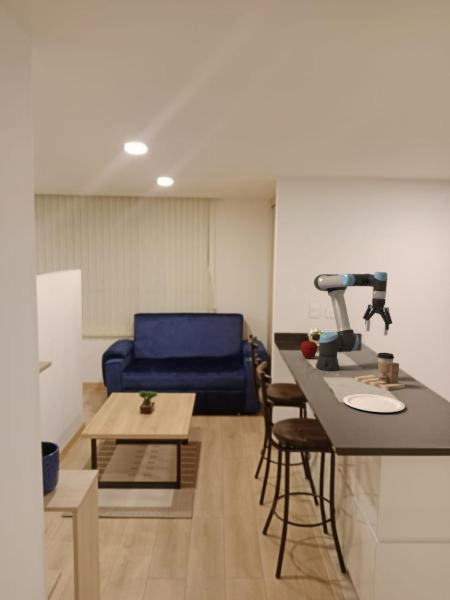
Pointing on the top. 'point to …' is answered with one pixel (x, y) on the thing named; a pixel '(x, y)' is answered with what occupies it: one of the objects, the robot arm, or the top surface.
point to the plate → (374, 403)
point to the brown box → (390, 372)
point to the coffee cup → (383, 358)
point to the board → (377, 382)
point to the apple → (308, 349)
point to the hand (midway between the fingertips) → (376, 333)
